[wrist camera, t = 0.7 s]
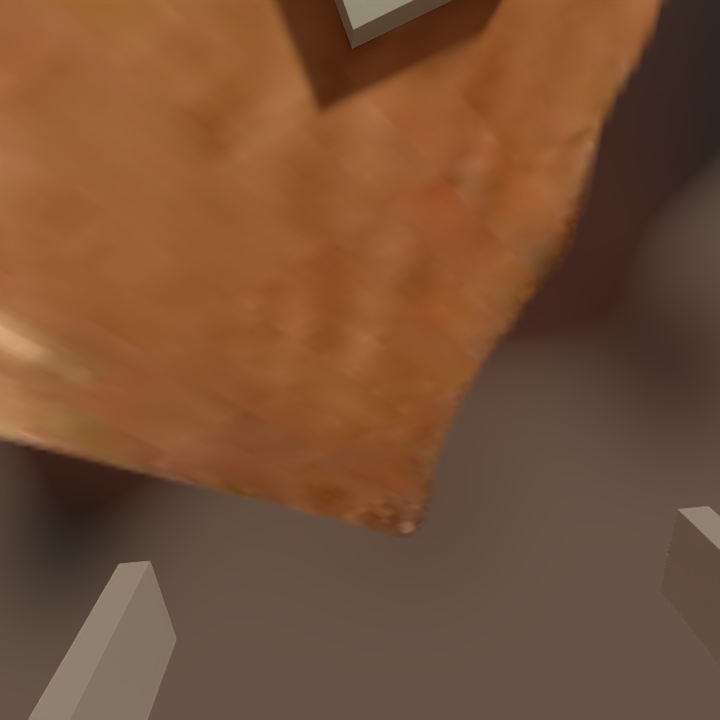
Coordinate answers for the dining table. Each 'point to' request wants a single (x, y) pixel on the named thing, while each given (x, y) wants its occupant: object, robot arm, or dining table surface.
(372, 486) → the dining table surface
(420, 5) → the tray
